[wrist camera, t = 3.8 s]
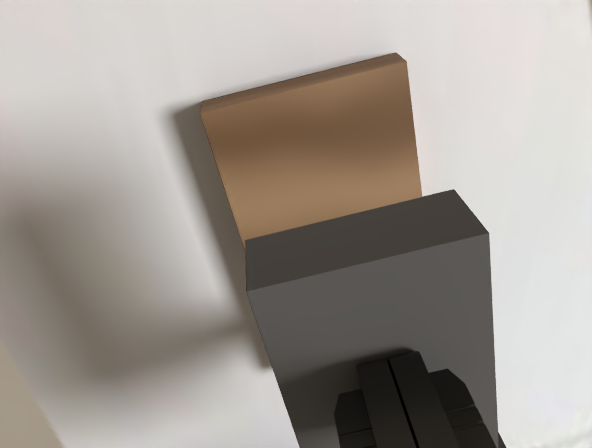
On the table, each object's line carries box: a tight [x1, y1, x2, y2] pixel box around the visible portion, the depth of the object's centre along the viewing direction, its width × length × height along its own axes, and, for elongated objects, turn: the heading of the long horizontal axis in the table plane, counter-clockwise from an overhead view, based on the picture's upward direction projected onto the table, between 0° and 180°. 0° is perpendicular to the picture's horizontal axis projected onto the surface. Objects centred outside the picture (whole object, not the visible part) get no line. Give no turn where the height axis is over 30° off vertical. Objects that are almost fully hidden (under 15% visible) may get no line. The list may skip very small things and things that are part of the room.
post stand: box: [200, 53, 422, 249], centre depth 17 cm, size 15×8×19 cm, turn 13°
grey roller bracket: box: [245, 189, 506, 448], centre depth 15 cm, size 14×6×2 cm, turn 13°
